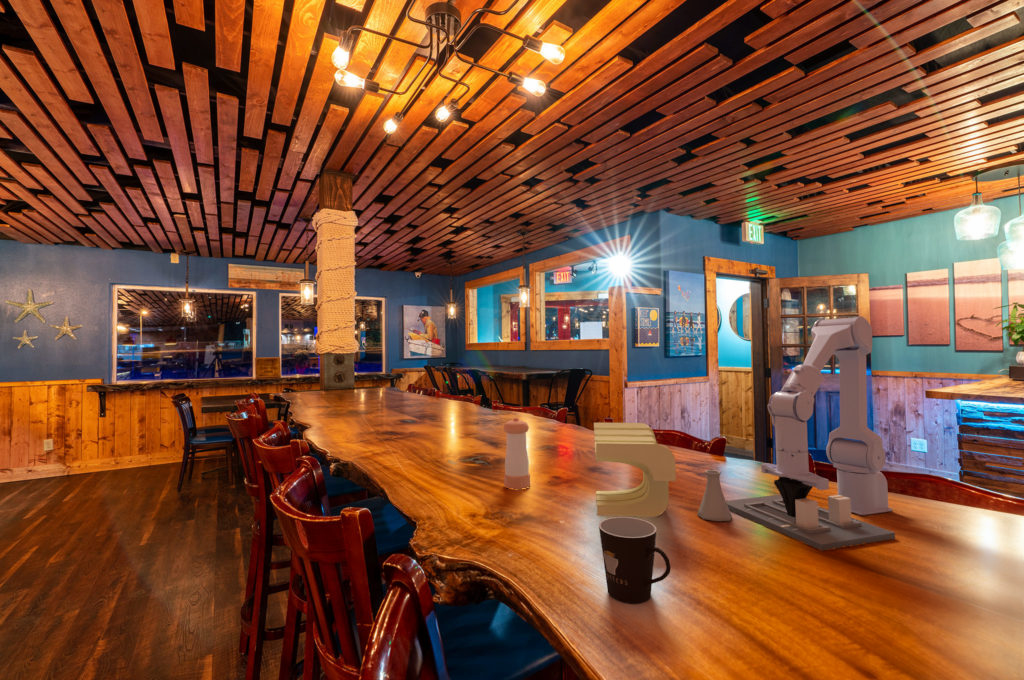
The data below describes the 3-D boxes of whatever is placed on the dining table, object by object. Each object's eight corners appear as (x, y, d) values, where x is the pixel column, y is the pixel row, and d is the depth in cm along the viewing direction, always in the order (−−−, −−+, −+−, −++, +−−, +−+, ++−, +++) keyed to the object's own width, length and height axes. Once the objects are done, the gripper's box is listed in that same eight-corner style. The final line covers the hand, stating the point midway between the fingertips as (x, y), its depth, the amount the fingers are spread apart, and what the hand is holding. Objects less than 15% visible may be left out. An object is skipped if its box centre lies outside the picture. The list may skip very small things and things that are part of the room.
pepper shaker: (530, 490, 125) (529, 419, 126) (503, 490, 125) (502, 419, 126) (529, 482, 132) (528, 415, 133) (504, 483, 132) (503, 416, 133)
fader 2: (840, 519, 96) (839, 494, 96) (851, 523, 93) (850, 497, 93) (828, 520, 95) (827, 495, 95) (840, 524, 92) (838, 499, 93)
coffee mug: (594, 580, 74) (592, 518, 75) (645, 577, 75) (644, 515, 75) (616, 622, 63) (614, 547, 63) (677, 618, 63) (675, 544, 64)
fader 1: (807, 522, 94) (806, 497, 94) (818, 527, 91) (817, 501, 92) (796, 524, 93) (795, 499, 93) (806, 528, 91) (805, 502, 91)
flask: (736, 523, 98) (734, 476, 98) (700, 521, 99) (699, 475, 100) (727, 512, 105) (726, 468, 105) (694, 510, 107) (692, 467, 107)
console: (782, 499, 114) (782, 491, 114) (895, 538, 88) (894, 529, 89) (721, 506, 109) (721, 499, 109) (822, 551, 84) (821, 541, 84)
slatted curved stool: (677, 531, 94) (674, 444, 95) (598, 528, 97) (596, 443, 97) (655, 489, 124) (653, 422, 124) (595, 487, 126) (593, 422, 127)
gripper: (749, 444, 102) (751, 506, 101) (807, 458, 88) (810, 530, 87) (775, 442, 103) (777, 503, 103) (836, 455, 89) (839, 526, 89)
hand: (794, 515), depth 95 cm, fingers closed
